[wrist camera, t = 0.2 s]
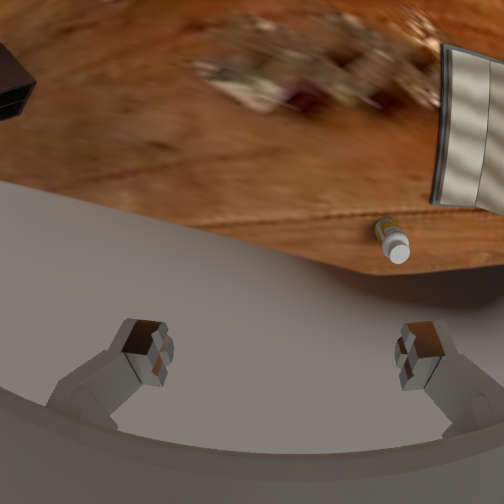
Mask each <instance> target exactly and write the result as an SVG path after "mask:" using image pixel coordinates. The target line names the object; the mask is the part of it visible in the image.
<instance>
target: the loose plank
mask: <svg viewBox="0 0 504 504" xmlns="http://www.w3.org/2000/svg"><path fill="white" fill-rule="evenodd" d="M475 206H477V207H480V208H483V209H486V210H488V211H491V212H494V213H497V214H500V215H502V216H504V65H503V64H500V63H496V62H492V61H490V103H489V118H488V129H487V138H486V146H485V154H484V161H483V167H482V173H481V179H480V184H479V190H478V194H477V199H476V204H475Z"/></svg>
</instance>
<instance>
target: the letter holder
mask: <svg viewBox="0 0 504 504" xmlns="http://www.w3.org/2000/svg"><path fill="white" fill-rule="evenodd" d="M35 84H36V81H35V80H34V79H33V78H32V77H31V76H30V75H29V73H28V72H27V71H26V70H25V69H24V68H23V67H22V66H21V64H20V63H19V62H18V61H17V60H16V59H15V58H14V57H13V55H12V54H11V53H10V52H9V51H8V50H7V49H6V48H5V46H4V45H3V44H2V43H0V121H3V120H6V119H9V118H12V117H15V116H18V115H20V114H21V112H22V109H23V107H24V105H25V103H26V101H27V99H28V97H29V96H30V94H31V92H32V90H33V88H34V86H35Z"/></svg>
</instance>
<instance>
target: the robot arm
mask: <svg viewBox="0 0 504 504" xmlns="http://www.w3.org/2000/svg"><path fill="white" fill-rule="evenodd" d="M167 332H168V327H167V325H166V323H164V322H157V321H148V320H137V319H129V318H127V319H126V320H124V322H123V323H122V325H121V327H120V329H119V330H118V332H117V334H116V336H115V338H114V340H113V342H112V344H111V345H110V347H109V349H108V350H104V351H102V352H101V353H99V354H98V355H96V356H95V357H93V358H92V359H90V360H89V361H87V362H86V363H84V364H83V365H82V366H80V367H79V368H77V369H76V370H74V371H73V372H71V373H70V374H68V375H67V376H65V377H64V378H62V379H61V380H59V382H58V383H57V385H56V387H55V389H54V391H53V393H52V395H51V396H50V398H49V400H48V402H47V404H46V406H42V405H40V404H37V403H35V402H32V401H30V400H28V399H25V398H23V397H21V396H19V395H16V394H14V393H12V392H10V391H8V390H6V389H3V388H2V387H0V504H504V388H503V387H502V386H501V385H500V384H499V383H497V382H496V381H495V380H494V379H492V378H491V377H490V376H489V375H488V374H487V373H485V372H484V371H483V370H482V369H480V368H479V367H478V366H477V365H475V364H474V363H473V362H472V361H471V360H469V359H468V358H467V357H466V356H464V355H463V354H458V351H457V349H456V346H455V344H454V342H453V339H452V337H451V335H450V332H449V330H448V328H447V326H446V323H445V322H444V321H443V320H437V321H424V322H413V323H404V325H403V326H402V328H401V335H402V336H401V337H400V338H399V339H398V340H397V343H396V346H395V361H396V366H398V367H399V368H400V369H401V372H400V375H399V378H400V383H401V387H402V391H408V390H417V389H424V391H425V392H426V393H427V394H428V396H429V397H430V398H431V399H432V400H433V401H434V402H435V404H436V405H437V406H438V407H439V408H440V409H441V411H442V412H443V413H444V414H445V415H446V416H447V418H448V419H449V420H450V421H451V422H452V424H451V425H450V426H449V427H448V428H447V429H446V431H445V432H444V433H443V435H442V437H443V439H440V440H435V441H430V442H425V443H420V444H414V445H408V446H402V447H395V448H387V449H379V450H370V451H361V452H348V453H332V454H268V453H250V452H237V451H227V450H217V449H209V448H202V447H195V446H188V445H181V444H175V443H170V442H165V441H160V440H155V439H150V438H146V437H141V436H137V435H133V434H129V433H124V432H121V431H117V429H118V426H117V424H116V423H115V422H114V420H113V419H112V418H111V417H110V415H111V414H112V413H113V412H114V411H115V410H116V409H117V408H118V407H119V406H121V405H122V404H123V403H124V402H125V401H126V400H127V399H128V398H129V397H130V396H131V395H132V394H133V393H135V392H136V391H137V390H138V389H139V388H140V387H141V386H142V385H141V384H143V385H150V386H158V387H163V385H164V382H165V379H166V376H167V373H168V372H167V370H166V367H167V366H168V365H169V364H170V363H171V362H172V359H173V355H174V345H173V341H172V338H171V337H169V336H168V335H167Z"/></svg>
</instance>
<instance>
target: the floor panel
mask: <svg viewBox="0 0 504 504" xmlns="http://www.w3.org/2000/svg"><path fill="white" fill-rule="evenodd" d="M441 51H442V97H441V117H440V131H439V143H438V152H437V161H436V169H435V176H434V183H433V190H432V196H431V202H430V203H431V204H432V205H439V206H456V207H471V208H480V207H477V206H475V204H476V199H477V194H478V190H479V184H480V179H481V173H482V167H483V161H484V154H485V146H486V138H487V129H488V118H489V103H490V61H492V62H496V63H500V64H503V65H504V62H502V61H499V60H497V59H494V58H491V57H488V56H485V55H482V54H479V53H476V52H472V51H469V50H466V49H462V48H459V47H455V46H451V45H447V44H441Z"/></svg>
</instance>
